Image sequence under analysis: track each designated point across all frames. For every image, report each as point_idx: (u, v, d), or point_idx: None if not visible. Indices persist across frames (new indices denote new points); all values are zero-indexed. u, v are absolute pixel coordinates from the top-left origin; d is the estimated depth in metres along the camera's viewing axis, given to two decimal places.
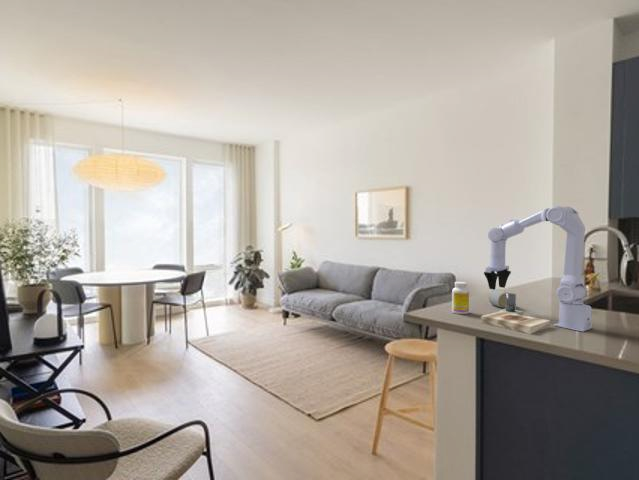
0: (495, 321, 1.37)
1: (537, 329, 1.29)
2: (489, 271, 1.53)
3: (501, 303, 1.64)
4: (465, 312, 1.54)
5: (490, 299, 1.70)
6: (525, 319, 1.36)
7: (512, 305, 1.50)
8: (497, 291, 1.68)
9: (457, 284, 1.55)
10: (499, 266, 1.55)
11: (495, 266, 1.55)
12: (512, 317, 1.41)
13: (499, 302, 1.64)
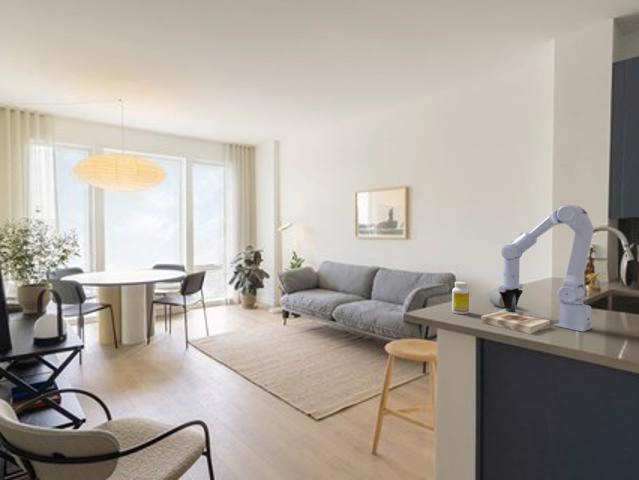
0: (495, 321, 1.37)
1: (537, 329, 1.29)
2: (503, 290, 1.46)
3: (502, 303, 1.64)
4: (465, 312, 1.54)
5: (491, 299, 1.70)
6: (525, 319, 1.36)
7: (512, 305, 1.50)
8: (498, 291, 1.68)
9: (457, 284, 1.55)
10: (513, 285, 1.48)
11: (509, 285, 1.49)
12: (512, 317, 1.41)
13: (500, 302, 1.64)
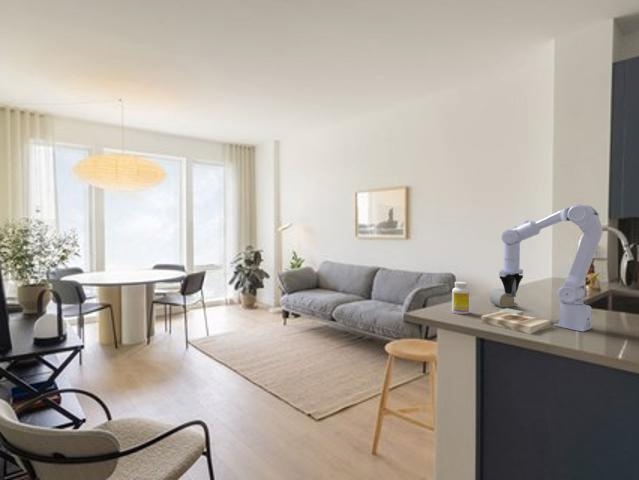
0: (495, 321, 1.37)
1: (537, 329, 1.29)
2: (503, 275, 1.46)
3: (503, 303, 1.64)
4: (465, 312, 1.54)
5: (491, 299, 1.70)
6: (525, 319, 1.36)
7: (512, 290, 1.49)
8: (499, 291, 1.68)
9: (457, 284, 1.55)
10: (513, 270, 1.48)
11: (509, 270, 1.49)
12: (512, 317, 1.41)
13: (501, 302, 1.64)
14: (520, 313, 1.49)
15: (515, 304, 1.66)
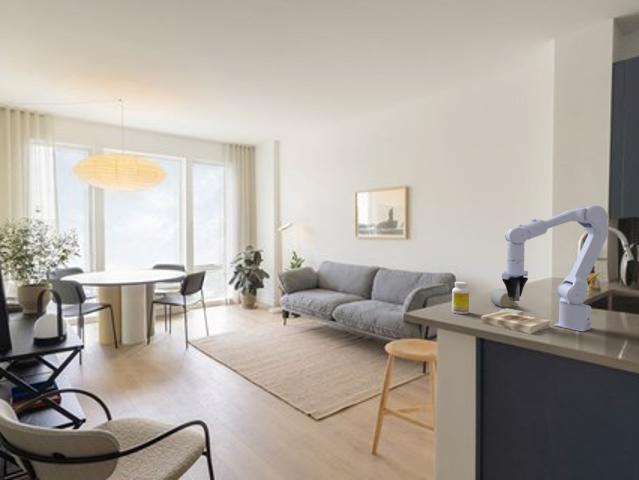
0: (495, 321, 1.37)
1: (537, 329, 1.29)
2: (506, 277, 1.34)
3: (503, 303, 1.64)
4: (465, 312, 1.54)
5: (492, 299, 1.70)
6: (525, 319, 1.36)
7: None
8: (499, 291, 1.68)
9: (457, 284, 1.55)
10: (517, 272, 1.36)
11: (513, 272, 1.36)
12: (512, 317, 1.41)
13: (501, 302, 1.64)
14: (520, 313, 1.49)
15: (516, 304, 1.66)
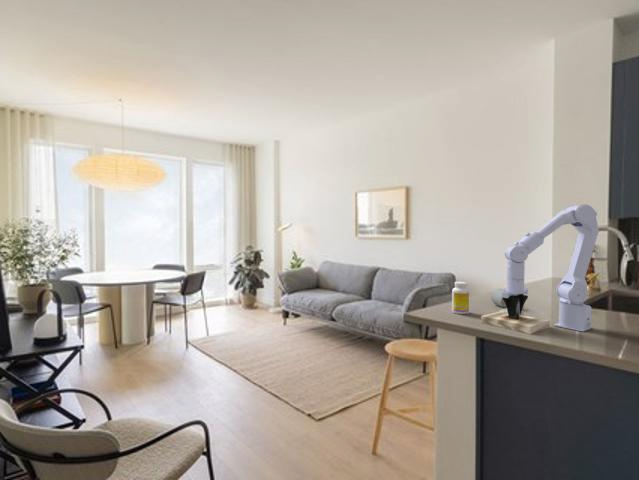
0: (495, 321, 1.37)
1: (537, 329, 1.29)
2: (506, 296, 1.33)
3: (504, 303, 1.64)
4: (465, 312, 1.54)
5: (493, 298, 1.70)
6: (525, 319, 1.36)
7: None
8: (500, 291, 1.68)
9: (457, 284, 1.55)
10: (517, 290, 1.35)
11: (513, 290, 1.35)
12: None
13: (502, 302, 1.64)
14: None
15: None
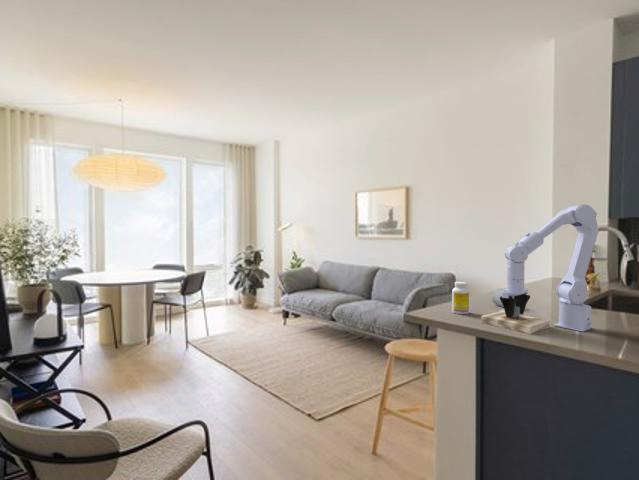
0: (495, 321, 1.37)
1: (537, 329, 1.29)
2: (506, 296, 1.33)
3: None
4: (465, 312, 1.54)
5: (493, 298, 1.70)
6: (525, 319, 1.36)
7: (515, 319, 1.36)
8: (501, 291, 1.68)
9: (457, 284, 1.55)
10: (517, 290, 1.35)
11: (513, 290, 1.35)
12: None
13: None
14: None
15: None
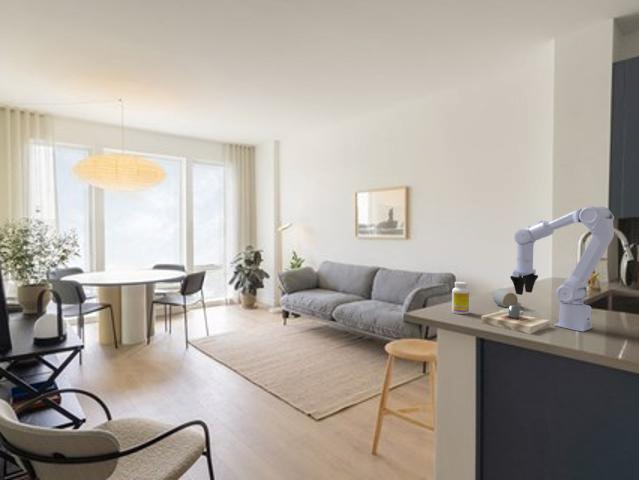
0: (495, 321, 1.37)
1: (537, 329, 1.29)
2: (517, 275, 1.44)
3: (506, 303, 1.64)
4: (465, 312, 1.54)
5: (494, 298, 1.70)
6: (525, 319, 1.36)
7: (515, 319, 1.36)
8: (502, 291, 1.68)
9: (457, 284, 1.55)
10: (527, 270, 1.46)
11: (522, 270, 1.47)
12: None
13: (504, 302, 1.64)
14: (520, 313, 1.49)
15: (518, 304, 1.66)
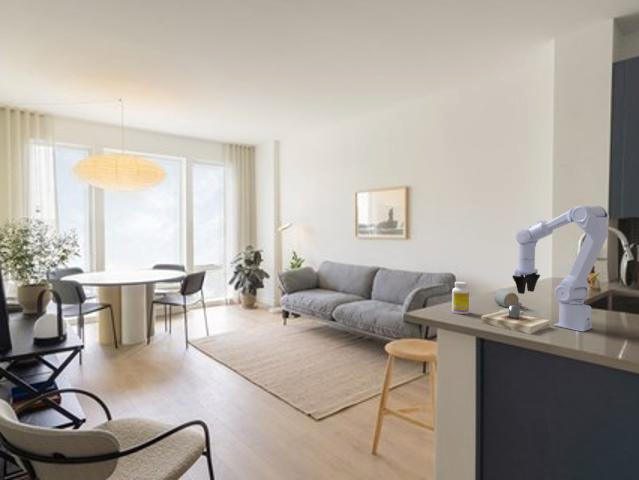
0: (495, 321, 1.37)
1: (537, 329, 1.29)
2: (518, 275, 1.47)
3: (507, 303, 1.64)
4: (465, 312, 1.54)
5: (495, 298, 1.70)
6: (525, 319, 1.36)
7: (515, 319, 1.36)
8: (503, 291, 1.68)
9: (457, 284, 1.55)
10: (528, 269, 1.49)
11: (524, 269, 1.49)
12: None
13: (505, 302, 1.64)
14: (520, 313, 1.49)
15: (519, 304, 1.66)
